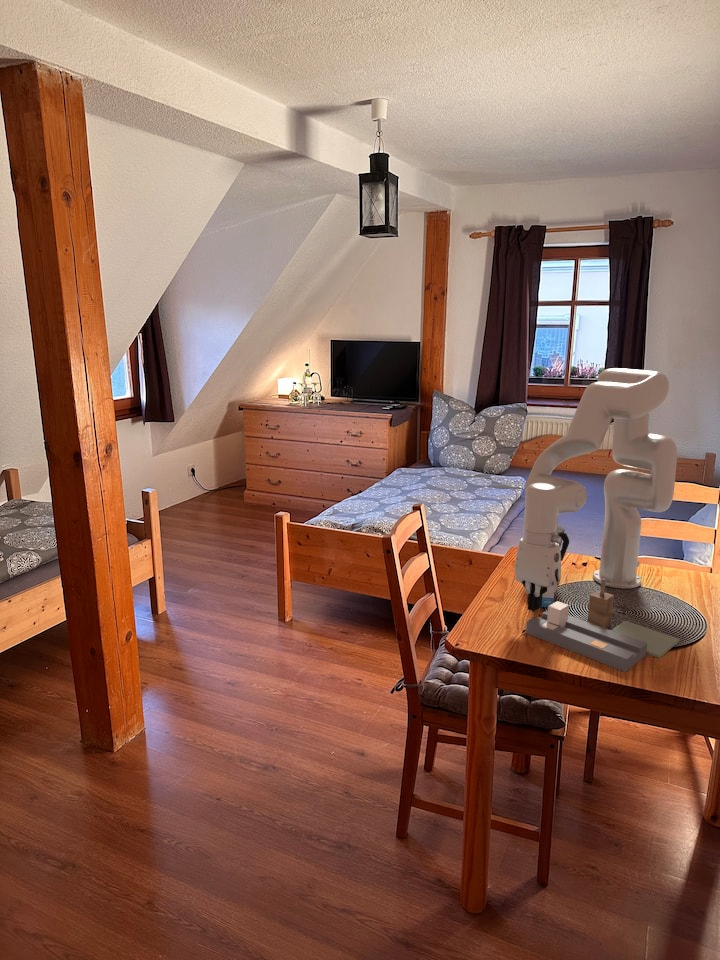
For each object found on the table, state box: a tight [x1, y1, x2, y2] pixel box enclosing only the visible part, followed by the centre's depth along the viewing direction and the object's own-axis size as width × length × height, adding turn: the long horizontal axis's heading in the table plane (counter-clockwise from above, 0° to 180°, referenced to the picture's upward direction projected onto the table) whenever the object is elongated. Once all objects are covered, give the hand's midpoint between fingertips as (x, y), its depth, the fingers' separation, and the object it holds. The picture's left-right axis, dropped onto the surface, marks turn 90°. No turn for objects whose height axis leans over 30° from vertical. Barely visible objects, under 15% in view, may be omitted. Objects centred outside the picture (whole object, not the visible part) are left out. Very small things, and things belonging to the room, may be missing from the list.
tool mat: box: [610, 620, 681, 659], centre depth 155 cm, size 11×13×1 cm
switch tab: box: [547, 600, 570, 627], centre depth 156 cm, size 4×3×5 cm
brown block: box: [586, 579, 615, 629], centre depth 160 cm, size 4×4×12 cm
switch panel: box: [525, 609, 647, 673], centre depth 152 cm, size 10×24×3 cm, turn 44°
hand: (534, 609), depth 161 cm, fingers closed
